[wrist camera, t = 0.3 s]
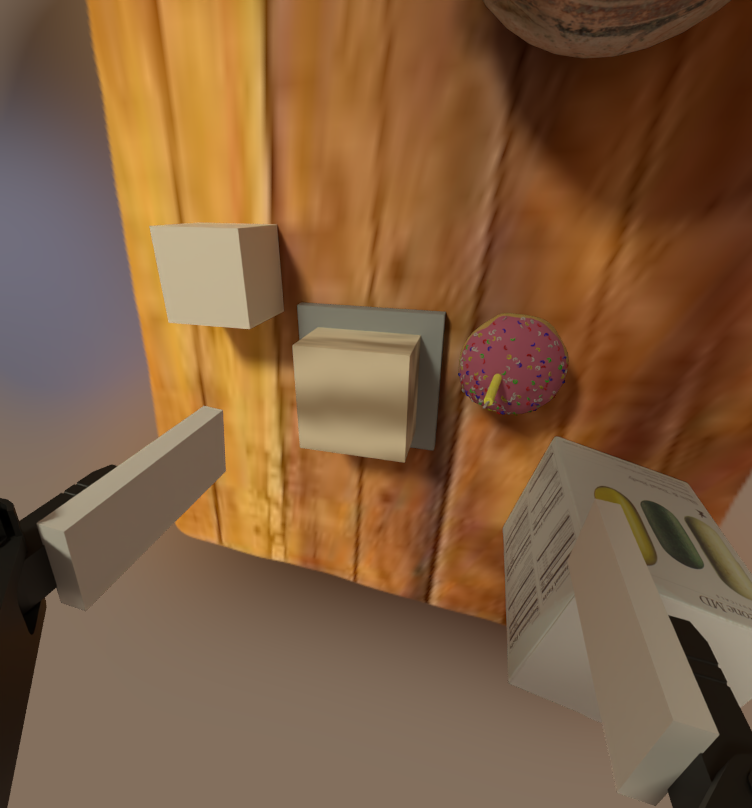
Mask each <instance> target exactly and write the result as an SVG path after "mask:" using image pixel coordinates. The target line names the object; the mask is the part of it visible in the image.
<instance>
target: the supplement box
mask: <svg viewBox="0 0 752 808" xmlns="http://www.w3.org/2000/svg"><path fill="white" fill-rule="evenodd" d="M595 499H599V500H603V501H608V502H612V503H616V504H620V505H621V507H622V509H623V511H624V514H625V516H626V518H627V521H628V523H629V525H630V528H631V530H632V532H633V535H634V537H635V539H636V542H637V544H638V546H639V549H640V551H641V553H642V556H643V558H644V560H645V563H646V565H647V567H648V570H649V572H650V574H651V576H652V579H653V581H654V583H655V586H656V588H657V590H658V593H659V595H660V597H661V600H662V602H663V604H664V607H665V609H666V611H667V614H668V615H670V616H673V617H677V618H681V619H684V620H688V621H690V622H691V623H692V624H693V626H694V627H695V628H696V629H697V630H698V631H699V633H700V634H701V635H702V636H703V637H704V638H705V639H706V641H707V642H708V644H709V646H710V648H711V650H712V652H713V654H714V656H715V658H716V660H717V662H718V667H719V668H721V670H722V672H723V674H724V676H725V678H726V680H727V686H729V687H730V688H731V690H732V692H733V694H734V696H735V698H736V700H737V702H738V704H739V706H740V708H741V707H742V706H743V705H744V704H746V703H747V702H748V701H750V700H751V699H752V574H751V572H750V571H749V569H748V568H747V567H746V565H745V564H744V562H743V561H742V559H741V558H740V557H739V555H738V554H737V552H736V551H735V550H734V548H733V547H732V545H731V544H730V542H729V541H728V540H727V538H726V537H725V535H724V534H723V533H722V531H721V530H720V528H719V527H718V525H717V524H716V523H715V521H714V520H713V518H712V517H711V516H710V514H709V513H708V511H707V510H706V508H705V507H704V505H703V504H702V503H701V501H700V500H699V498H698V497H697V496H696V494H695V493H694V491H693V490H692V488H691V487H690V486H689V484H688V483H686V482H684V481H681V480H678V479H675V478H673V477H670V476H667V475H664V474H661V473H659V472H656V471H653V470H650V469H647V468H645V467H642V466H639V465H636V464H633V463H631V462H628V461H625V460H622V459H619V458H617V457H614V456H611V455H608V454H605V453H603V452H600V451H597V450H594V449H591V448H589V447H586V446H583V445H580V444H577V443H575V442H572V441H569V440H566V439H563V438H561V437H554V439H553V440H552V442H551V444H550V445H549V447H548V449H547V451H546V452H545V454H544V456H543V458H542V459H541V461H540V463H539V465H538V466H537V468H536V470H535V472H534V473H533V475H532V477H531V479H530V480H529V482H528V484H527V486H526V487H525V489H524V491H523V493H522V494H521V496H520V498H519V500H518V501H517V503H516V505H515V507H514V509H513V510H512V512H511V514H510V516H509V518H508V519H507V521H506V523H505V525H504V527H503V538H504V564H505V589H506V620H507V654H508V682H509V684H511V685H513V686H516V687H518V688H521V689H523V690H526V691H528V692H531V693H533V694H535V695H538V696H540V697H543V698H545V699H547V700H550V701H552V702H555V703H557V704H560V705H562V706H564V707H567V708H569V709H572V710H574V711H577V712H579V713H581V714H583V715H585V716H586V717H589V718H590V719H593V720H595V721H598V722H601V723H602V721H601V716H600V712H599V707H598V702H597V698H596V693H595V688H594V683H593V679H592V674H591V669H590V665H589V660H588V655H587V650H586V646H585V641H584V636H583V632H582V627H581V622H580V618H579V613H578V608H577V603H576V599H575V594H574V589H573V585H572V580H571V575H570V571H569V566H568V558H569V556H570V554H571V552H572V549H573V547H574V545H575V543H576V540H577V538H578V536H579V534H580V532H581V529H582V527H583V525H584V523H585V520H586V518H587V516H588V514H589V511H590V509H591V507H592V505H593V502H594V500H595Z"/></svg>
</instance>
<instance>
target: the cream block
mask: <svg viewBox="0 0 752 808" xmlns="http://www.w3.org/2000/svg"><path fill="white" fill-rule="evenodd" d="M149 227H150V232H151V237H152V242H153V247H154V251H155V256H156V261H157V266H158V271H159V276H160V281H161V286H162V291H163V296H164V301H165V306H166V311H167V316H168V321H169V323H181V324H193V325H205V326H217V327H229V328H242V329H251V328H253V327H255V326H257V325H259V324H261V323H263V322H265V321H266V320H268V319H270V318H272V317H274V316H276V315H278V314H280V313H282V312H284V303H283V291H282V279H281V267H280V254H279V242H278V230H277V225H276V224H235V223H187V224H172V225H157V226H149Z"/></svg>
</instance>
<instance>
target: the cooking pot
mask: <svg viewBox="0 0 752 808" xmlns="http://www.w3.org/2000/svg"><path fill="white" fill-rule="evenodd" d="M730 1H731V0H483V2H484V3H485V5H486V6H487V8H488V9H489V10H490V11H491V12H492V13H493V14H494V15H495V16H496V17H497V18H498V19H499V21H500V22H501V23H502V24H503V25H504V26H505V27H506V28H507V29H508V30H510V31H511V32H513V33H514V34H516V35H517V36H519V37H520V38H521V39H523V40H524V41H526V42H527V43H529V44H531V45H533V46H536V47H538V48H541V49H543V50H546V51H548V52H551V53H553V54H557V55H564V56H571V57H577V58H599V57H614V56H618V55H622V54H626V53H630V52H634V51H638V50H642V49H646V48H649V47H651V46H653V45H656V44H658V43H660V42H663V41H665V40H667V39H669V38H672V37H674V36H676V35H679V34H681V33H683V32H684V31H686V30H688V29H689V28H691V27H693V26H694V25H696V24H697V23H699V22H701V21H702V20H704V19H705V18H707V17H709V16H710V15H712V14H713V13H715V12H717V11H718V10H720V9H721V8H722V7H723V6H725V5H726V4H727V3H728V2H730Z"/></svg>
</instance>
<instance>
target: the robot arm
mask: <svg viewBox="0 0 752 808" xmlns="http://www.w3.org/2000/svg"><path fill="white" fill-rule="evenodd" d="M225 471H226V467H225V446H224V425H223V410H220V409H216V408H211V407H207V406H203V407H202V408H200V409H199V410H197V411H196V412H195V413H193V414H192V415H190V416H189V417H187V418H186V419H185V420H183V421H182V422H180V423H179V424H177V425H176V426H175V427H173V428H172V429H170V430H169V431H167V432H166V433H165V434H163V435H162V436H160V437H159V438H157V439H156V440H155V441H153V442H152V443H150V444H149V445H147V446H146V447H145V448H143V449H142V450H141V451H139V452H137V453H136V454H135V455H133V456H132V457H130V458H129V459H127V460H126V461H125V462H123V463H122V464H120V465H119V466H115V465H109V466H107V467H104V468H101V469H99V470H96V471H94V472H92V473H90V474H89V475H88V476H86V477H85V478H83V479H81V480H80V481H78V482H77V484H76V485H72V486H71V487H70V488H68V489H67V490H65V492H64V493H60V494H59V495H58V496H56V497H55V498H53V499H52V500H50V501H49V502H47V503H46V504H44V505H43V506H41V507H40V508H38V509H37V510H35V511H34V512H32V513H31V514H29V515H28V516H27V517H25V518H23V519H22V520H20V521H19V520H18V516H17V514H16V511H15V508H14V505H13V503H11V502H10V501H9V500H7V499H2V498H0V808H7V806H8V801H9V796H10V791H11V786H12V781H13V776H14V770H15V765H16V760H17V755H18V750H19V745H20V739H21V735H22V729H23V724H24V719H25V714H26V709H27V703H28V699H29V693H30V688H31V684H32V678H33V673H34V668H35V663H36V658H37V653H38V648H39V642H40V638H41V632H42V627H43V622H44V617H45V612H46V600H45V597H46V596H47V595H48V594H49V593H50V592H51V591H53V590H54V589H55V588H57V591H58V594H59V597H60V601H61V603H64V604H66V605H69V606H72V607H75V608H78V609H81V610H84V611H87V610H88V609H89V608H90V606H91V605H93V604H94V603H95V602H96V601H97V599H99V598H100V596H102V595H103V594H104V593H105V591H106V590H108V588H109V587H111V585H112V584H113V583H115V582H116V581H117V579H119V578H120V576H122V575H123V574H124V572H126V571H127V570H128V568H130V567H131V566H132V564H134V562H135V561H136V560H137V559H138V558H139V557H140V556H141V555H142V554H143V553H144V552H145V551H146V550H147V549H148V548H149V547H150V546H151V545H152V544H153V543H154V542H155V541H156V540H157V539H158V538H159V537H160V536H161V535H162V534H163V533H164V532H165V531H166V530H167V529H168V528H169V527H170V526H171V525H172V524H173V523H174V522H175V521H176V520H177V519H178V518H179V517H180V516H181V515H182V514H183V513H184V512H185V511H186V510H187V509H188V508H189V507H190V506H191V505H192V504H193V503H194V502H195V501H196V500H197V499H198V498H199V497H200V496H201V495H202V494H203V493H204V492H205V491H206V490H207V489H208V488H209V487H210V486H211V485H212V484H213V483H214V482H215V481H216V480H217V479H218V478H219V477H220V476H221V475H222V474H223V473H224V472H225ZM568 566H569V571H570V575H571V580H572V585H573V589H574V594H575V599H576V603H577V608H578V613H579V618H580V622H581V627H582V632H583V636H584V641H585V646H586V650H587V655H588V660H589V665H590V669H591V674H592V679H593V683H594V688H595V693H596V698H597V702H598V707H599V712H600V716H601V721H602V726H603V730H604V735H605V739H606V745H607V749H608V754H609V759H610V763H611V768H612V773H613V777H614V782H615V787H616V792H617V793H619V794H622V795H625V796H628V797H631V798H634V799H637V800H640V801H642V802H645V803H648V804H651V805H654V806H656V805H657V804H658V803H659V802H660V801H661V799H662V798H663V797H664V796H665V795H666V794H667V793H669V796H670V800H671V803H672V806H673V808H752V731H751V729H750V727H749V725H748V723H747V721H746V719H745V717H744V715H743V713H742V711H741V708H740V706H739V704H738V702H737V700H736V698H735V696H734V694H733V692H732V690H731V688H730V687H729V686H727V680H726V678H725V676H724V674H723V672H722V670H721V668H719V667H718V662H717V660H716V658H715V656H714V654H713V652H712V650H711V648H710V646H709V644H708V642H707V641H706V639H705V638H704V637H703V636H702V635H701V634H700V633H699V631H698V630H697V629H696V628H695V627H694V626H693V624H692V623H691V622H690V621H688V620H684V619H681V618H677V617H673V616H670V615H668V614H667V611H666V609H665V607H664V604H663V602H662V600H661V597H660V595H659V593H658V590H657V588H656V586H655V583H654V581H653V579H652V576H651V574H650V572H649V570H648V567H647V565H646V563H645V560H644V558H643V556H642V553H641V551H640V549H639V546H638V544H637V542H636V539H635V537H634V535H633V532H632V530H631V528H630V525H629V523H628V521H627V518H626V516H625V514H624V511H623V509H622V507H621V505H620V504H616V503H612V502H608V501H603V500H599V499H595V500H594V502H593V505H592V507H591V509H590V511H589V514H588V516H587V518H586V520H585V523H584V525H583V527H582V529H581V532H580V534H579V536H578V538H577V540H576V543H575V545H574V547H573V549H572V552H571V554H570V556H569V558H568Z"/></svg>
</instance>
